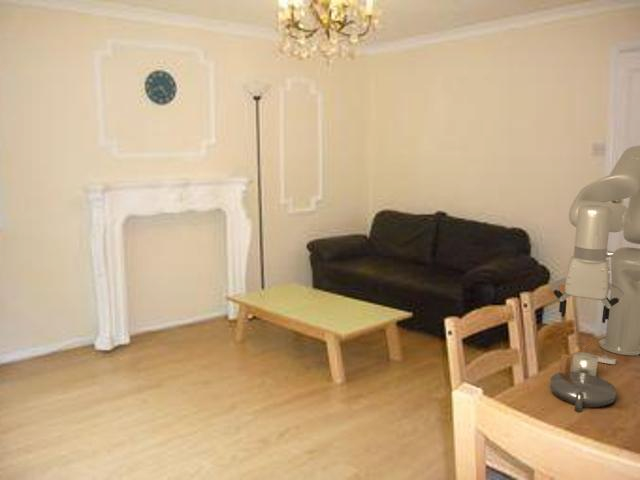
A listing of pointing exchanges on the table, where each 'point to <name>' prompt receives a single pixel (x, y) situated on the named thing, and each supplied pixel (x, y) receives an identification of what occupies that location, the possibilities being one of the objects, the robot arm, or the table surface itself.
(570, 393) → the turntable
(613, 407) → the table surface
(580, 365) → the cover
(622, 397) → the table surface
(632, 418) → the table surface
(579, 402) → the dial pointer
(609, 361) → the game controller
